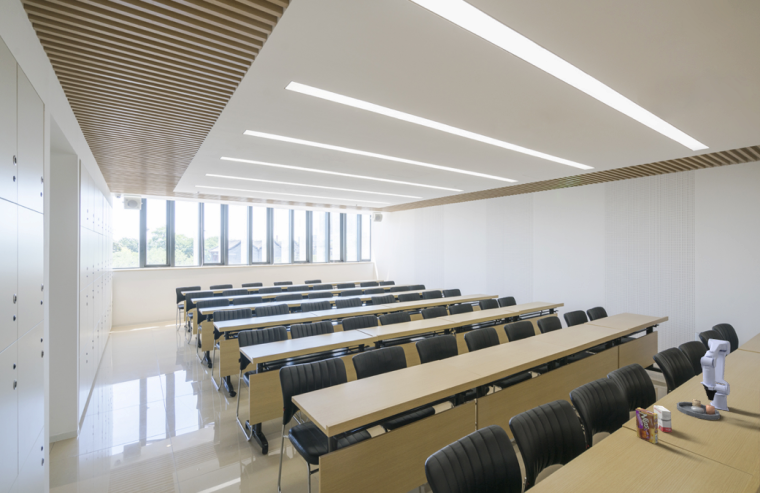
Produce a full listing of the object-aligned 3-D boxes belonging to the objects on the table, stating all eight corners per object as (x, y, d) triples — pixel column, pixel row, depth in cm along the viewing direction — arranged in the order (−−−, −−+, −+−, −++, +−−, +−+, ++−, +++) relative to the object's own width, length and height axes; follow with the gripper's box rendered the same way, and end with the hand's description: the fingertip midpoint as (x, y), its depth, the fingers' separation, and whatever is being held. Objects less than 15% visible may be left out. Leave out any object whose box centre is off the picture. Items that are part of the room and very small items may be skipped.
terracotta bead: (705, 412, 217) (705, 404, 218) (714, 413, 215) (714, 405, 215) (706, 414, 214) (706, 406, 215) (715, 416, 212) (715, 407, 212)
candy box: (659, 442, 184) (658, 413, 184) (654, 444, 182) (653, 415, 183) (640, 434, 192) (639, 407, 192) (636, 436, 190) (635, 408, 191)
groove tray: (676, 403, 232) (676, 399, 233) (717, 411, 220) (716, 407, 220) (677, 413, 217) (677, 409, 217) (722, 422, 204) (721, 418, 204)
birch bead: (692, 406, 226) (691, 398, 226) (700, 407, 223) (700, 400, 224) (692, 408, 223) (692, 400, 223) (701, 410, 220) (700, 402, 220)
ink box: (672, 432, 194) (671, 411, 194) (662, 432, 195) (661, 411, 195) (663, 425, 202) (662, 405, 202) (653, 424, 203) (653, 404, 203)
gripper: (699, 372, 224) (699, 393, 223) (701, 378, 212) (702, 400, 212) (714, 374, 219) (715, 395, 219) (717, 380, 208) (718, 403, 207)
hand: (709, 398), depth 215 cm, fingers open, 7 cm apart
